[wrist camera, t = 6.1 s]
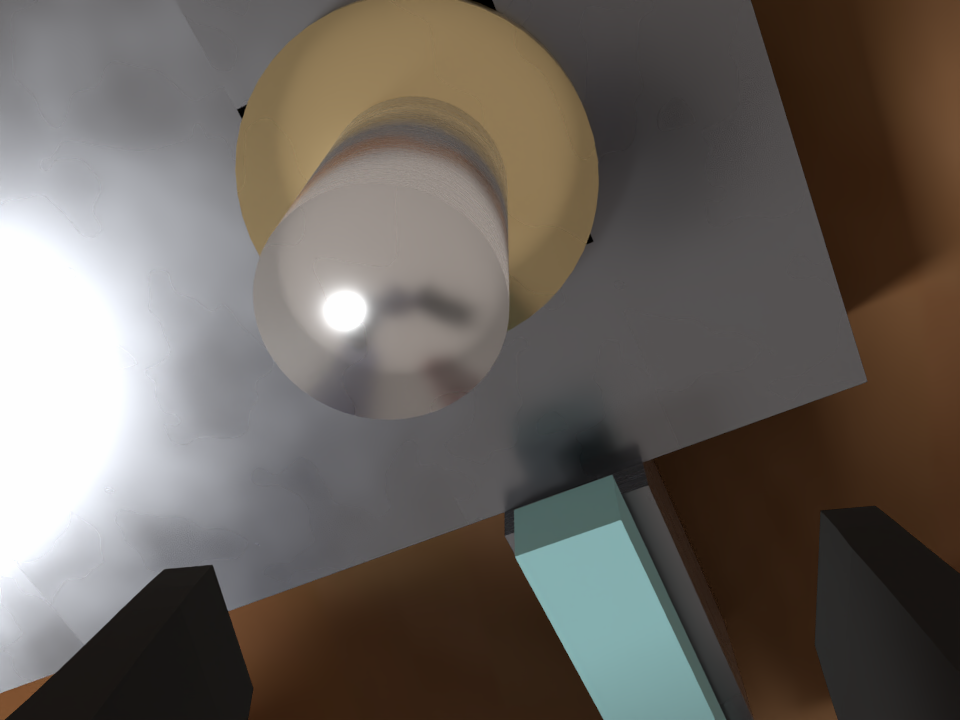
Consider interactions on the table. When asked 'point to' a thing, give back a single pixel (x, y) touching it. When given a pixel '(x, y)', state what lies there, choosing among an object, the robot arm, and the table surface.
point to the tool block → (324, 430)
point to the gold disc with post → (409, 199)
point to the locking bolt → (611, 606)
